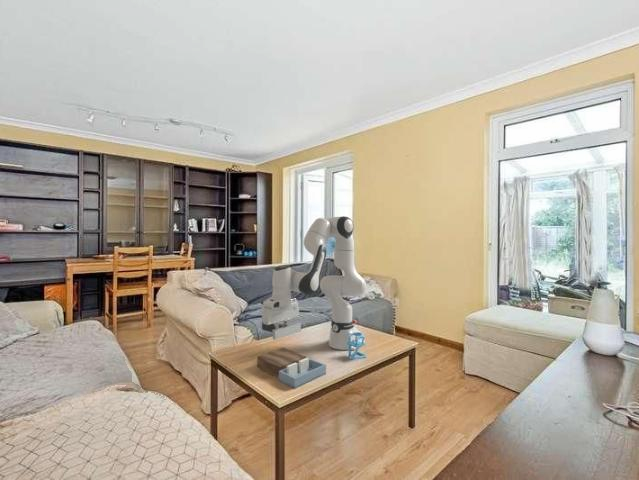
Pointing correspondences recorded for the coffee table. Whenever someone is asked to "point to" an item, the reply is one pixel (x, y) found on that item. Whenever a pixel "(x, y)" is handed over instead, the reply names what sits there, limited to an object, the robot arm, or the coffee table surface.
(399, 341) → the coffee table surface
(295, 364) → the tile
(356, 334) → the light blue open frame
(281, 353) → the plate
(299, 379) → the box
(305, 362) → the tile
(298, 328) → the scraper
